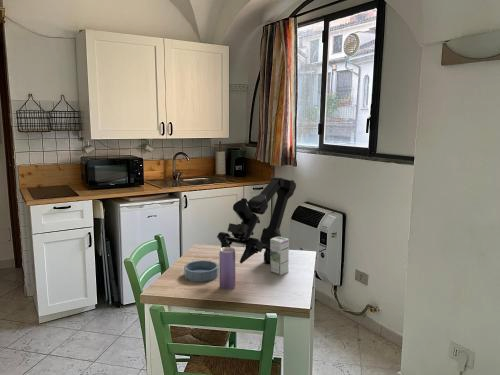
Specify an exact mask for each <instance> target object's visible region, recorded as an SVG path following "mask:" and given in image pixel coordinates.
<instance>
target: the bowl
mask: <svg viewBox="0 0 500 375" xmlns="http://www.w3.org/2000/svg"><path fill="white" fill-rule="evenodd" d="M183 274H184V278H185V279H186V280H187V281H190V282H194V283H203V282H204V283H205V282H206V283H207V282H210V281H213V280H216V279H217V278H218V277H219V274H220V267H219V264H218V263H217V261H212V260H206V259H205V260H204V259H202V260H194V261H193V260H192V261H190V262H187V263H186V264H185V265H184V266H183Z"/></svg>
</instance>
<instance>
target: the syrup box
mask: <svg viewBox="0 0 500 375" xmlns="http://www.w3.org/2000/svg"><path fill="white" fill-rule="evenodd" d="M289 240H290V239H289V238H286V237H283V236H281V237H279V236H278V237H274V238H272V239H270V264H269V265H270V266H269V267H270V270H269V271H270V273H273V274H276V275H279V276H283V275H284V274H287V273H289V268H290V267H289V263H290V262H289V261H290V260H289V258H290V257H289V252H290V250H289V248H290V243H289V242H290V241H289Z"/></svg>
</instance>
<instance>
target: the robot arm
mask: <svg viewBox="0 0 500 375" xmlns="http://www.w3.org/2000/svg"><path fill="white" fill-rule="evenodd" d="M296 188H297V183H296V182H295V180H293V179H289V178H288V179H287V178H286V179H285V178H283V177H278V176H273V177H271V179H270V181H269V182H268V184H267V185H266V186H265V187H264V188H263V190H262V191H261V192H260V193H259V194H258V195H254V196H252V197H251V198H250V199H249V200H248V199H247V198H245V197H241V199H240V200H238V201H236V202H235V203H234V204H233V206H232V210H233V211H234V213H235V214H236V216H237V217H238V218H239V219H240V220H241V222H240V223H237V224H236V223H229V224H228V228H227V232H224V231H219V232H218V234H217V235H216V238H217V239H218V240H219V242H220V245H221V246H220V249H221V248H224V247H231V248H232V246H231V245H232V244H233V243H234V244H238V245H244V246H245V248H244V250H243V253H242V255H241V256H240V260H239V264H243V263H244V262H246V261H247V260H248V259H249V258H251V257H252V256H253V255H255V254H258V253H262V251H263V249H264V251H263V262H264V265H270V239H272V238H274V237H278V236H279V237H282V233H281V230H280V229H281V225H282V221H283V218H284V215H285V210H286V207H287V204H288V201H289V199H290V198H292V196H293V195H294V193H295V191H296ZM275 195H276V196H277V197H276V201H275V204H274V207H273V211H272V215H271V217H270V220H269V225H268V226H267V227H266V228H265V227H264V228H263V229H262V232H261V235H260V240H259V238H255V237H251V236H254V230H255V227H256V225H257V224H261V220H260V216H257V215H264V214H265V213H266V211H267V209H268V208H269V202H270V201H271V199H272V198H273V197H274V196H275ZM229 233H231V235H232V236H231V235H230V234H229Z"/></svg>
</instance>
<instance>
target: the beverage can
mask: <svg viewBox="0 0 500 375" xmlns="http://www.w3.org/2000/svg"><path fill="white" fill-rule="evenodd" d="M218 255H219V256H218V257H219V259H218V260H219V261H218V262H219V264H218V265H219V287H220V289H221V290H224V291H230V290H233V289H235V287H236V249H235V248H234V247H232V246H231V247H224V248H221V247H220V249H219V253H218Z"/></svg>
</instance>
